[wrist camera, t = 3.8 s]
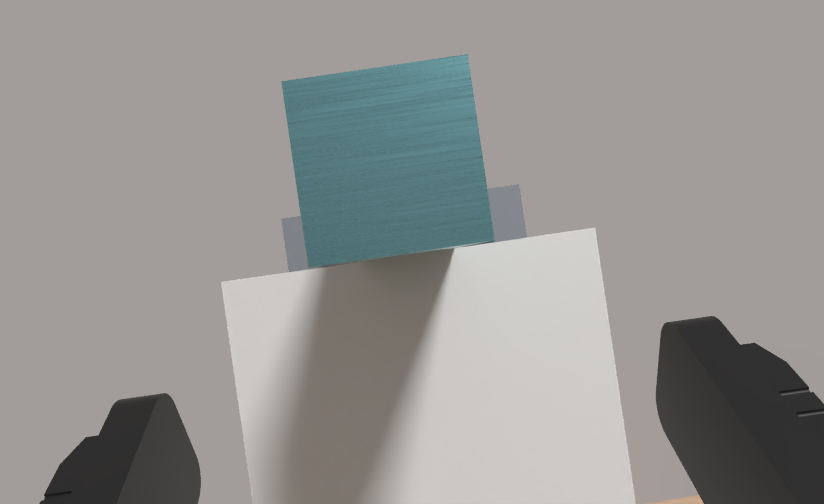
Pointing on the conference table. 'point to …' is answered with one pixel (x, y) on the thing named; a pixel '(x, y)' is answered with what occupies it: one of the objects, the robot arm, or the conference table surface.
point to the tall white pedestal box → (432, 374)
